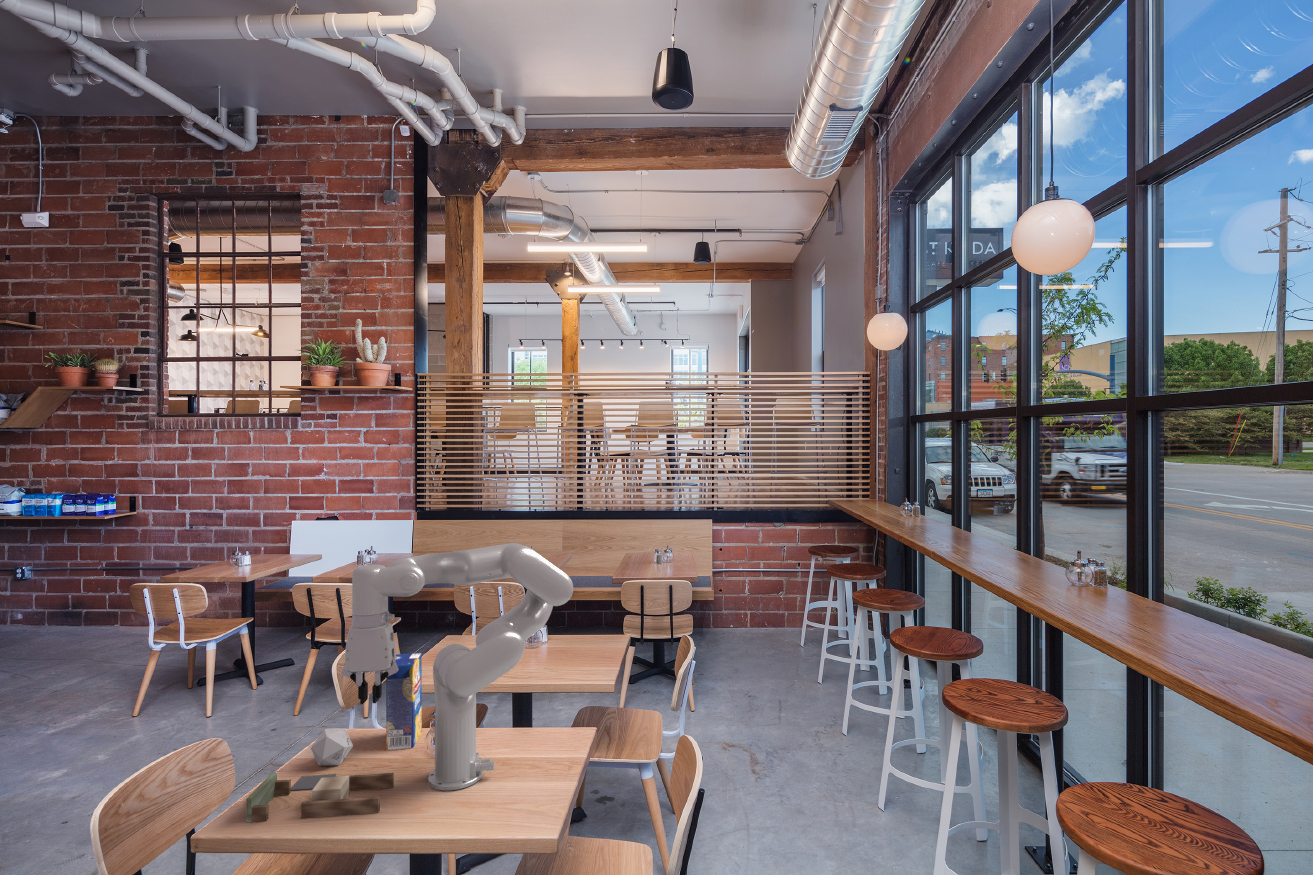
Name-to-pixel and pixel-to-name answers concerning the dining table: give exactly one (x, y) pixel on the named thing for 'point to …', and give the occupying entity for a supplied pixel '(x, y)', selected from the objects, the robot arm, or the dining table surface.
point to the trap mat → (308, 782)
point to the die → (331, 747)
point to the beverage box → (404, 702)
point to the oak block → (331, 788)
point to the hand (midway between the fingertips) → (370, 700)
